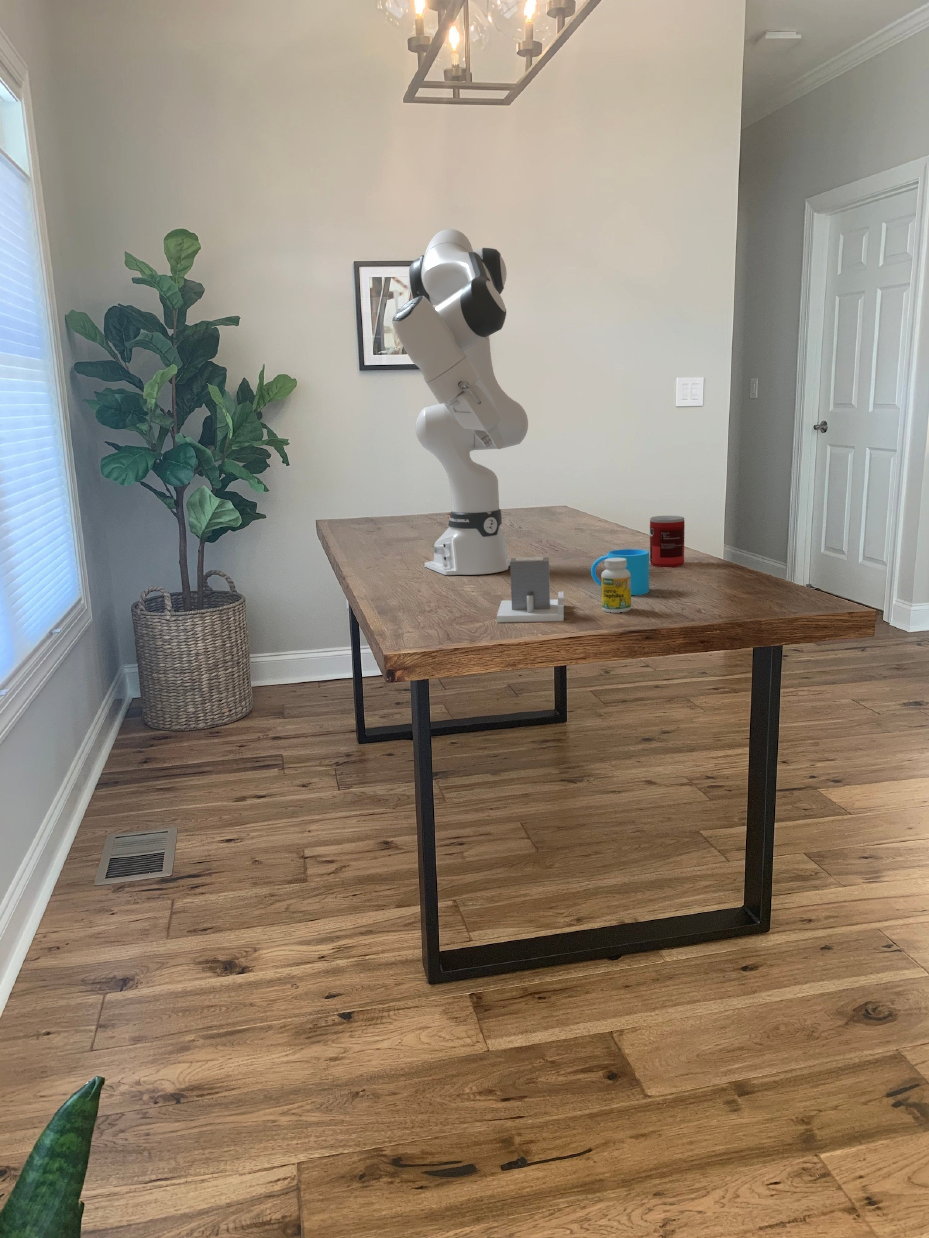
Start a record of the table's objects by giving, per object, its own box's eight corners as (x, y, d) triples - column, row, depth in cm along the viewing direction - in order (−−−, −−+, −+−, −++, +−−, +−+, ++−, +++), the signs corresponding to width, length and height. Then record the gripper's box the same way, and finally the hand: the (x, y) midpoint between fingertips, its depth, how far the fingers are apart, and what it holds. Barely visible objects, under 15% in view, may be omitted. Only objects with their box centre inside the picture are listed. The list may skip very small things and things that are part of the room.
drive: (511, 610, 171) (510, 560, 169) (513, 605, 175) (511, 557, 172) (549, 609, 170) (548, 559, 168) (550, 604, 174) (549, 556, 172)
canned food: (662, 560, 220) (662, 514, 217) (691, 564, 214) (691, 516, 212) (642, 565, 215) (642, 518, 212) (671, 569, 209) (671, 520, 207)
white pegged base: (496, 622, 167) (495, 599, 166) (501, 606, 179) (501, 585, 178) (563, 621, 165) (563, 598, 164) (563, 605, 178) (563, 583, 177)
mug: (653, 589, 189) (653, 549, 187) (642, 597, 182) (642, 556, 180) (597, 586, 194) (596, 548, 192) (584, 594, 187) (584, 554, 185)
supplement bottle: (633, 607, 173) (633, 557, 171) (627, 614, 169) (627, 562, 166) (605, 606, 175) (604, 556, 173) (598, 612, 171) (598, 561, 168)
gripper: (481, 371, 159) (524, 438, 163) (458, 374, 179) (496, 434, 183) (452, 392, 159) (495, 458, 163) (431, 393, 178) (470, 453, 183)
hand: (495, 446), depth 173 cm, fingers open, 8 cm apart
